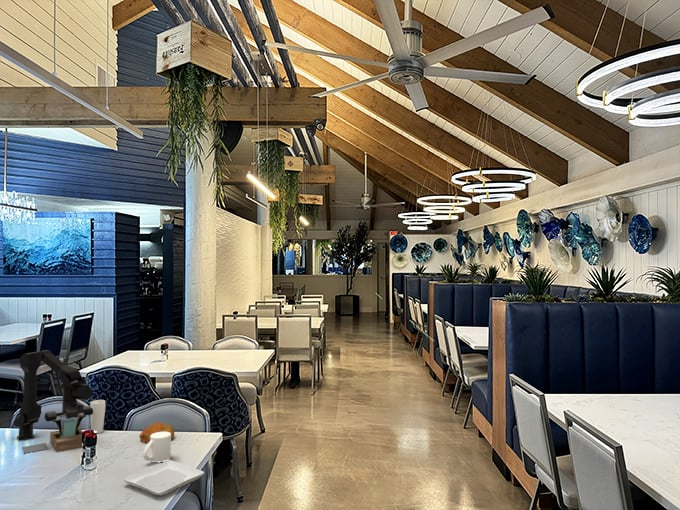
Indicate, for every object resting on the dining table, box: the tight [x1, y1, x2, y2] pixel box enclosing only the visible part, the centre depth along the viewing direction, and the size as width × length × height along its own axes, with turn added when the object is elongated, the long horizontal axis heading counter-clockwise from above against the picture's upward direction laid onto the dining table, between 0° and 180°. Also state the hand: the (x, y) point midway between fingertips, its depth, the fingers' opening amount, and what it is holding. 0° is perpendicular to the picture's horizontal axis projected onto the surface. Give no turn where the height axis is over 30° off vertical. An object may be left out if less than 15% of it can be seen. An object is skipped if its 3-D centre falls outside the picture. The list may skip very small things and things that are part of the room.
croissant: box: [138, 422, 175, 444], centre depth 228 cm, size 14×16×8 cm
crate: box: [49, 426, 83, 453], centre depth 219 cm, size 16×12×5 cm
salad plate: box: [122, 459, 205, 496], centre depth 180 cm, size 21×21×3 cm
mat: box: [21, 442, 49, 455], centre depth 213 cm, size 9×9×1 cm
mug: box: [142, 432, 172, 462], centre depth 201 cm, size 8×10×12 cm
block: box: [61, 418, 76, 438], centre depth 219 cm, size 4×4×7 cm
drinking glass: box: [89, 399, 106, 435], centre depth 235 cm, size 7×7×15 cm
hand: (68, 432), depth 219 cm, fingers open, 6 cm apart
